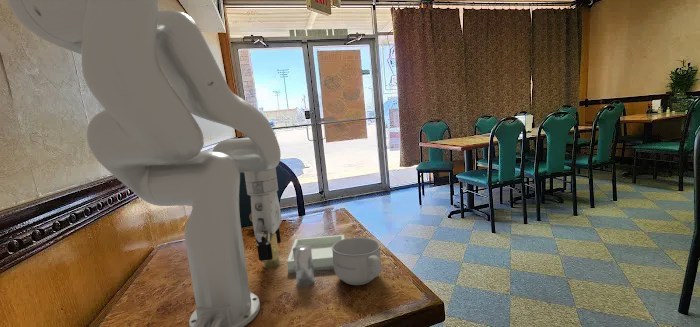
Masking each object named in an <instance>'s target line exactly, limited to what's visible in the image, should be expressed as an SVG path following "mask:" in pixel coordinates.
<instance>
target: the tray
mask: <svg viewBox="0 0 700 327" xmlns="http://www.w3.org/2000/svg"><path fill="white" fill-rule="evenodd" d="M343 239H345V234H338V235H337V234H336V235H327V236H326V235H325V236H324V235H323V236H315V237H313V236H312V237H306V238H305V237H304V238H295V239H294V240H293V244H292V247H291V250H290V253H289V255H288V258H287V260H286V265H287V273H288V274H292V273H295V264H294V255H293V248H294V247H296V246H299V245H310V246H311V252H312V261H313V271H314V272H315V271H326V270H334V265H333V251H332V245H333V244H334V243H335V242H337V241H339V240H343ZM295 274H296V273H295Z"/></svg>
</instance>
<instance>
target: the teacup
mask: <svg viewBox="0 0 700 327" xmlns="http://www.w3.org/2000/svg"><path fill="white" fill-rule="evenodd" d="M381 247H382V246H381V243H380V242H379V241H378V240H376V239H373V238H369V237H359V236H357V237H356V236H355V237H348V238H346V237H345V238H344V239H343V240H339V241H337V242H335V243H334V244H333V245H332V251H333V265H334V269H333V270H334V273H335V275H336V276H337V277H338V278H339V280H341V281H342V282H344V283H345V284H347V285H350V286H362V285H367V284H369V283H370V282H371V281H373V280H374V279H375V278H377V277H378V276H380V275H381V274H382V271H383V264H382V261H381Z"/></svg>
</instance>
